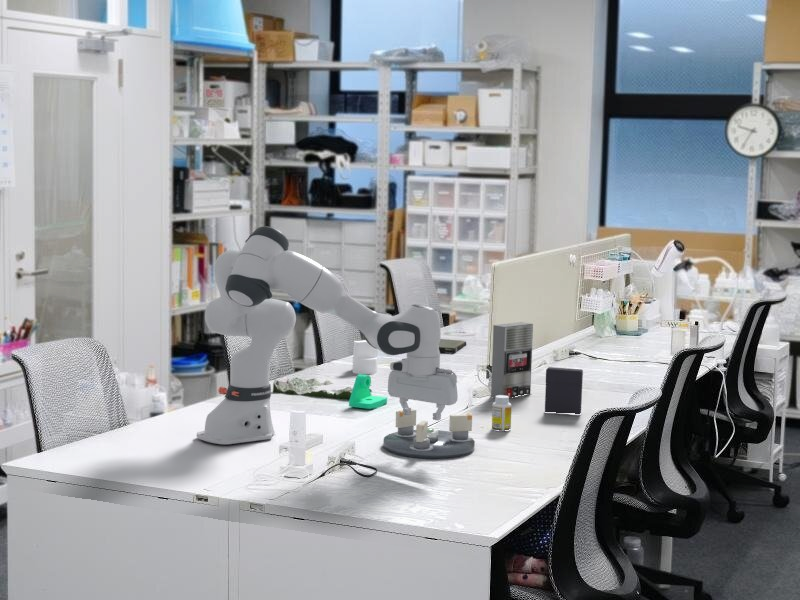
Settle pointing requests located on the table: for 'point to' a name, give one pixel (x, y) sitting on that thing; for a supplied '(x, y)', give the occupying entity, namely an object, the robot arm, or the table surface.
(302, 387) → the topographic map model
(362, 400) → the camera mount
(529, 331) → the cassette tape recorder
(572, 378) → the calculator
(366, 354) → the white cylinder
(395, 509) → the table surface
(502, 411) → the supplement bottle
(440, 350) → the network switch
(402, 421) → the cream block orange corner
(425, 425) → the knob left
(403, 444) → the tribrach disc
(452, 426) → the knob right
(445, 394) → the robot arm
